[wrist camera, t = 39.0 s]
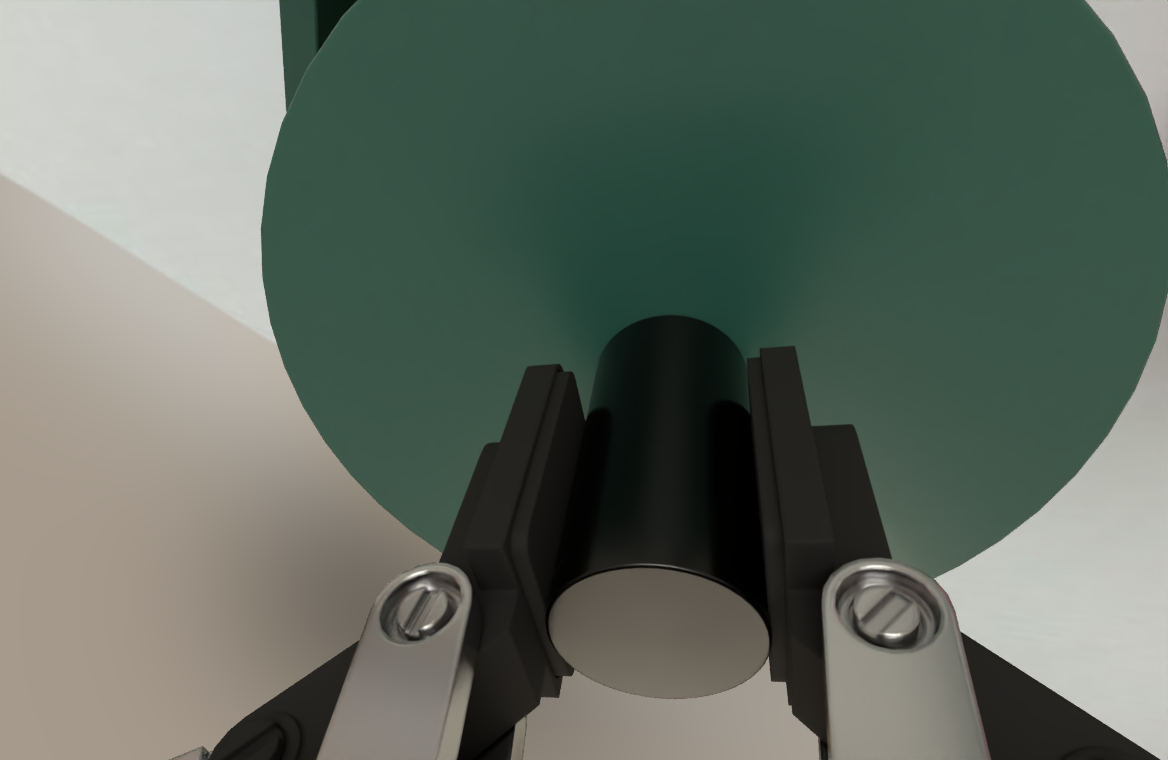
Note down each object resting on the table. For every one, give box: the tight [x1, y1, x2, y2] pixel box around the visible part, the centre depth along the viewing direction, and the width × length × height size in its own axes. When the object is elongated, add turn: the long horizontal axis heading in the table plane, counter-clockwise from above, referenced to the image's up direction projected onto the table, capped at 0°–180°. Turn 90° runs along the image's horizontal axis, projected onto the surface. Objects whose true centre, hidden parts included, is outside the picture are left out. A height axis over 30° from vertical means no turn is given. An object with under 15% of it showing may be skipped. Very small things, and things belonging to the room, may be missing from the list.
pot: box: [279, 0, 357, 111], centre depth 19 cm, size 15×20×11 cm
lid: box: [261, 0, 1168, 699], centre depth 11 cm, size 16×16×7 cm
